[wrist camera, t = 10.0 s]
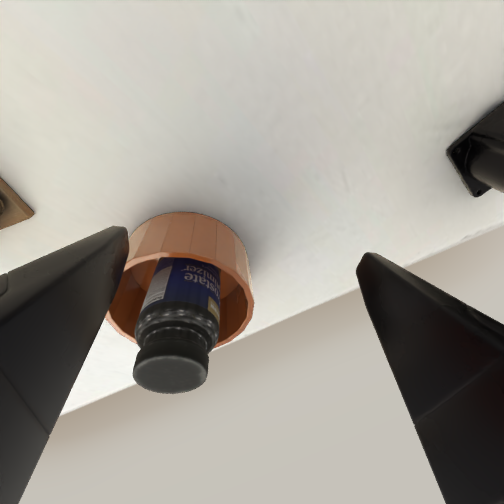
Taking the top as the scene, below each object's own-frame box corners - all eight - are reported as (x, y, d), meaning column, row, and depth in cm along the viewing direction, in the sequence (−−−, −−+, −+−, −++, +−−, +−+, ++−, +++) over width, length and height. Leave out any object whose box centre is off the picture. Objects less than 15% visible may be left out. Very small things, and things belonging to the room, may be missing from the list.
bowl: (271, 256, 26) (283, 299, 21) (203, 318, 30) (199, 366, 26) (166, 184, 20) (149, 220, 16) (103, 274, 25) (75, 323, 20)
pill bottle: (233, 267, 25) (238, 373, 17) (193, 298, 28) (179, 407, 19) (184, 230, 22) (160, 336, 14) (144, 268, 24) (99, 381, 16)
